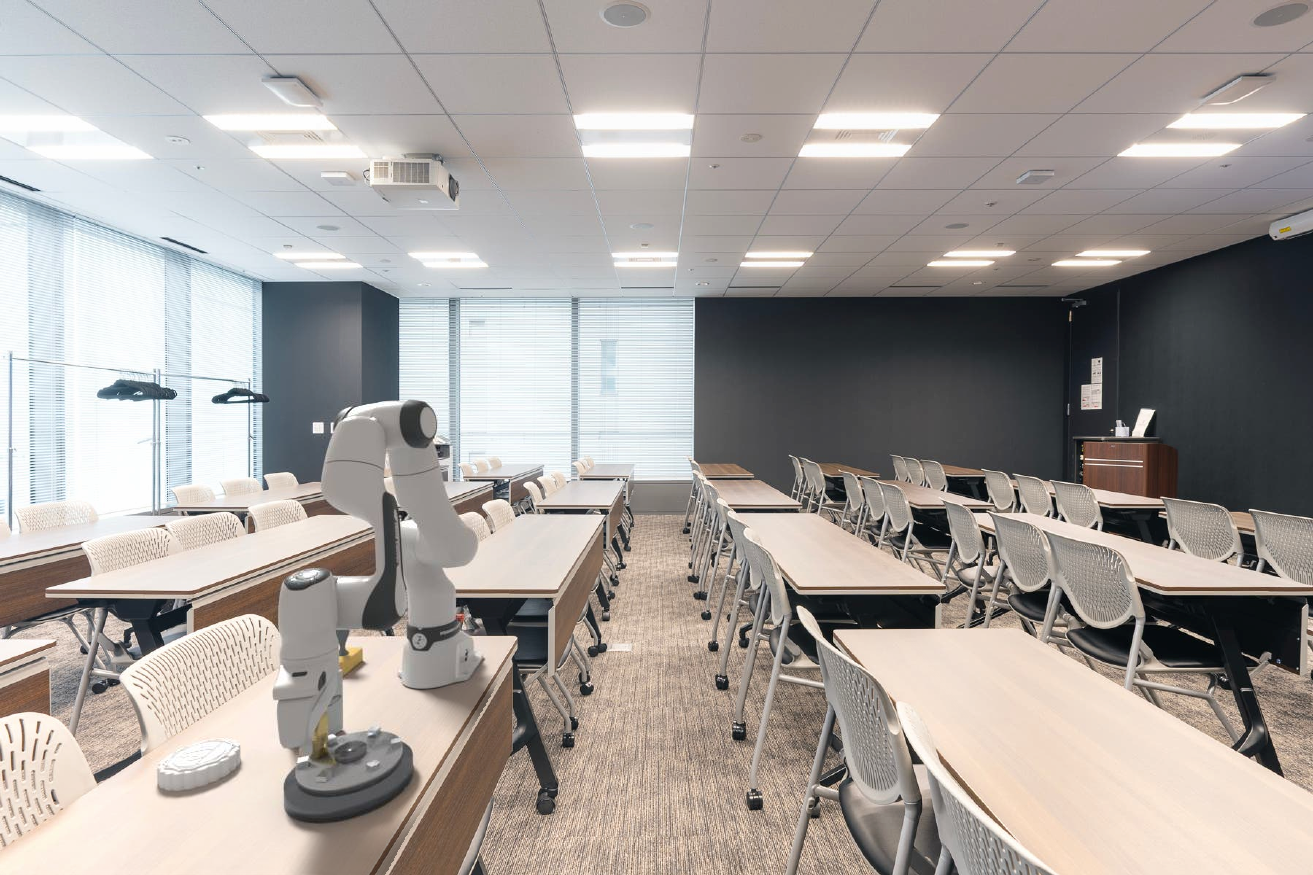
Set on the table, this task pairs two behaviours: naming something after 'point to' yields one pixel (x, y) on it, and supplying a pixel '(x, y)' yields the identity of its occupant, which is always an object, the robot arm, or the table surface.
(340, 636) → the rubber stamp
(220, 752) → the mooncake
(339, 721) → the supplement box
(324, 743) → the studded round base
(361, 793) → the grey round platform
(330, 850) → the table surface
